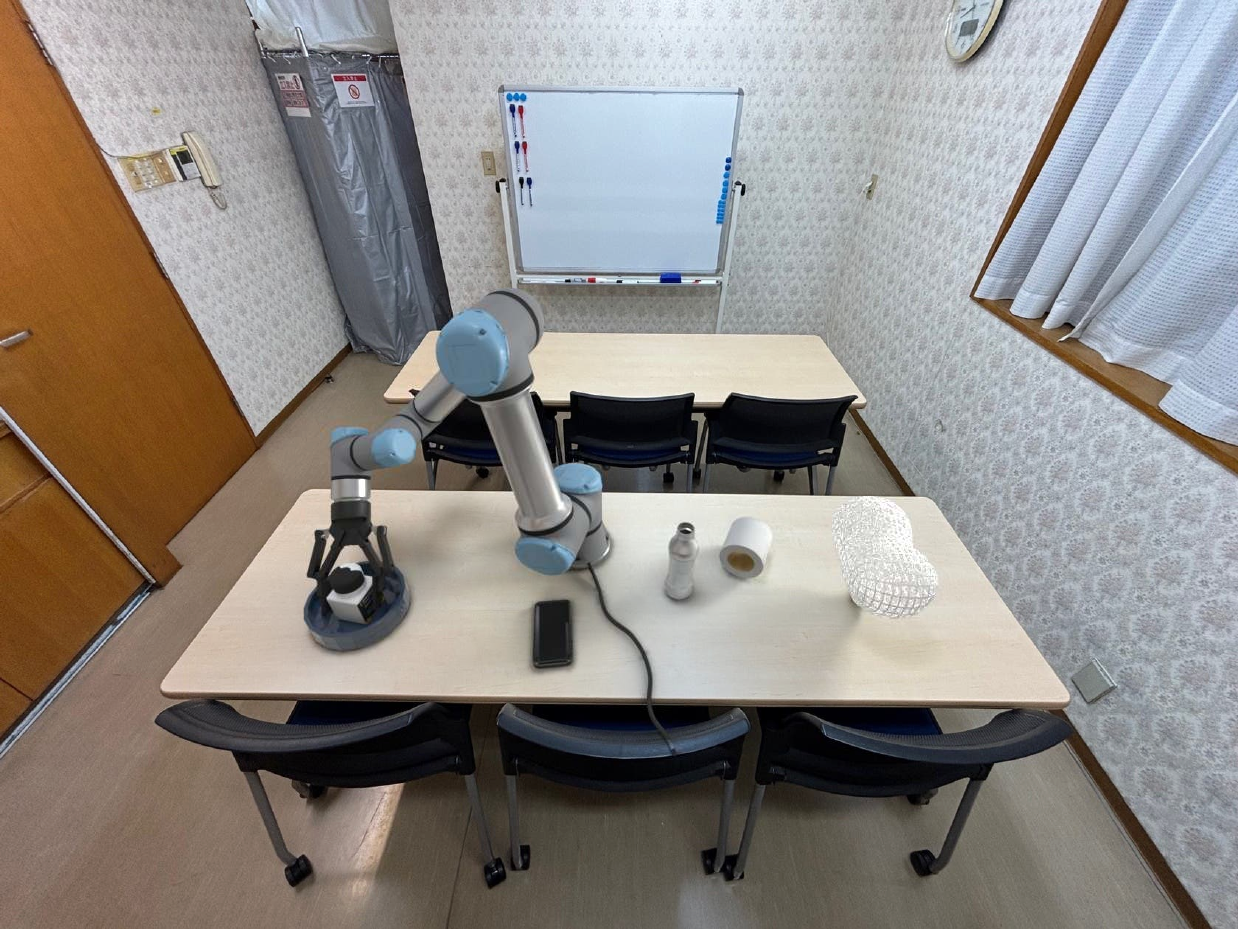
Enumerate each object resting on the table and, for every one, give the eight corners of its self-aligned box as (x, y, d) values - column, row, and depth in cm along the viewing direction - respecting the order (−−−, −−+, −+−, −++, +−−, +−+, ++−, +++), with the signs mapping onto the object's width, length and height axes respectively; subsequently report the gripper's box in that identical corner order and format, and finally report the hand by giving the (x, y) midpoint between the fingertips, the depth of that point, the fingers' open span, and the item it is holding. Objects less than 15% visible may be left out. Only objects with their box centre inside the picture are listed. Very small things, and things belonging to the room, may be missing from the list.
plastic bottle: (696, 585, 116) (706, 522, 103) (686, 608, 111) (696, 544, 99) (669, 576, 118) (676, 513, 106) (659, 597, 113) (665, 534, 101)
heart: (917, 660, 101) (964, 589, 88) (837, 653, 102) (872, 582, 89) (874, 555, 123) (907, 485, 110) (809, 550, 125) (834, 481, 111)
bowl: (426, 611, 109) (421, 597, 106) (333, 670, 98) (324, 656, 95) (386, 561, 120) (380, 547, 117) (298, 609, 109) (289, 595, 106)
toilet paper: (728, 541, 127) (734, 511, 121) (768, 554, 123) (776, 524, 117) (716, 569, 120) (722, 539, 113) (758, 583, 116) (767, 554, 110)
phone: (532, 665, 98) (534, 601, 110) (533, 668, 99) (535, 604, 111) (573, 661, 99) (571, 598, 111) (573, 664, 100) (571, 602, 112)
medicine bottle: (367, 625, 106) (349, 588, 98) (336, 619, 107) (316, 582, 100) (386, 598, 111) (370, 561, 104) (357, 592, 112) (339, 556, 105)
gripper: (410, 498, 112) (412, 603, 109) (305, 505, 110) (305, 612, 107) (398, 496, 104) (400, 608, 102) (286, 503, 102) (285, 618, 99)
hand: (351, 610), depth 104 cm, fingers open, 9 cm apart
